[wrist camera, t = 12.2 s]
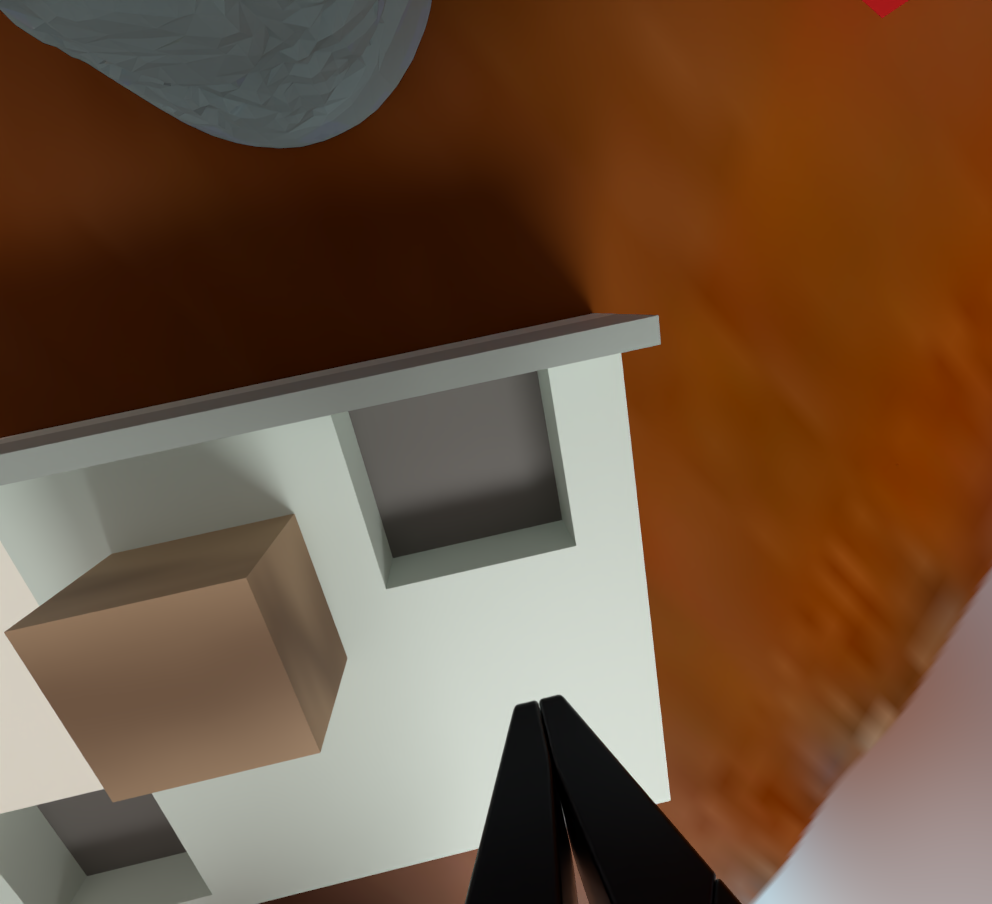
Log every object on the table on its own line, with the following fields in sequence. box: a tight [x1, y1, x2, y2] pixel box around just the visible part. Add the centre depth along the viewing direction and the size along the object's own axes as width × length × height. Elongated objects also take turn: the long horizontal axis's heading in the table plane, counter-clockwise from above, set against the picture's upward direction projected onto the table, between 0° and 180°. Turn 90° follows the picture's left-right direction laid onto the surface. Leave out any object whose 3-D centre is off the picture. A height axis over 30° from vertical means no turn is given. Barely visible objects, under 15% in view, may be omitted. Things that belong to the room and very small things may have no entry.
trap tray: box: [0, 313, 671, 904], centre depth 14 cm, size 18×26×4 cm
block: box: [4, 514, 347, 802], centre depth 12 cm, size 5×5×3 cm
